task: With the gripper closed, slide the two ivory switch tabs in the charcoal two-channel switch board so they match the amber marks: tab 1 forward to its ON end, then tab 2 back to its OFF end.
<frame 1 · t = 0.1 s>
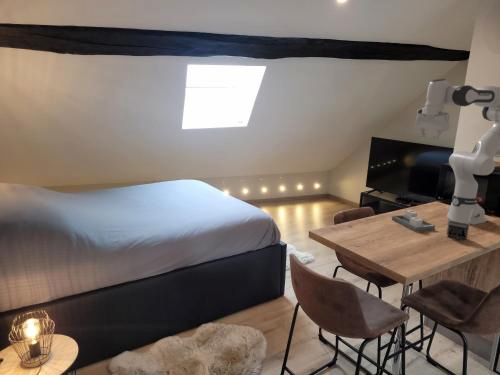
hand: (429, 138, 191), 48 cm above the table, fingers open, 8 cm apart
tab 2: (415, 222, 194), point 4 cm above the table, slide at 11.0 cm
electrical switch: (456, 238, 183), on the table
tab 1: (410, 215, 206), point 4 cm above the table, slide at 0.0 cm
switch board: (412, 224, 201), on the table
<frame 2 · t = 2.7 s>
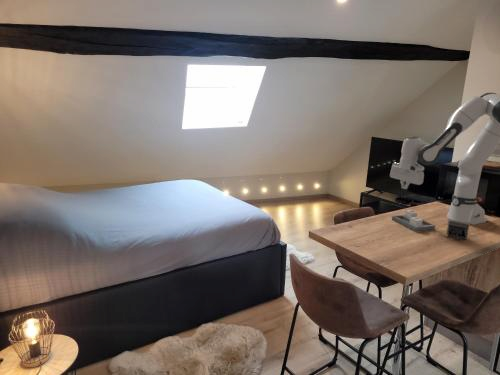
hand: (404, 188, 210), 17 cm above the table, fingers closed
nothing on the table moved.
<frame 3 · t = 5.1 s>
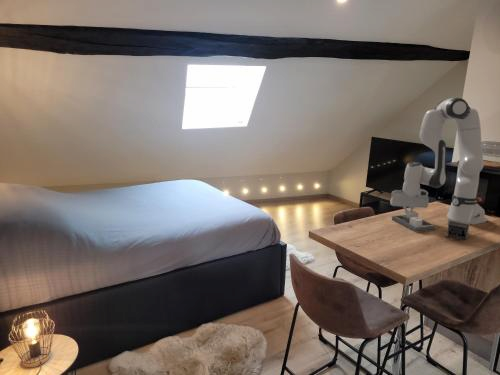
hand: (407, 213, 209), 3 cm above the table, fingers closed
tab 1: (412, 215, 205), point 4 cm above the table, slide at 1.1 cm, touching gripper
everything else where it was.
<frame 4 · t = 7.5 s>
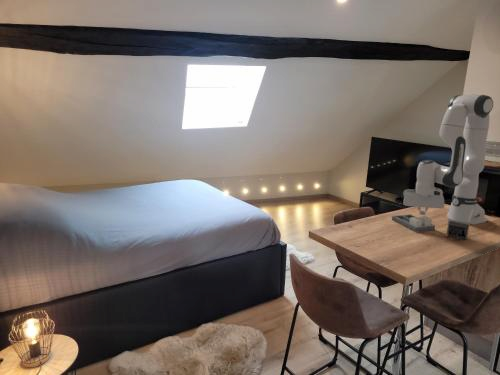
hand: (422, 214, 199), 6 cm above the table, fingers closed
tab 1: (425, 221, 196), point 4 cm above the table, slide at 11.1 cm
everything else where it was.
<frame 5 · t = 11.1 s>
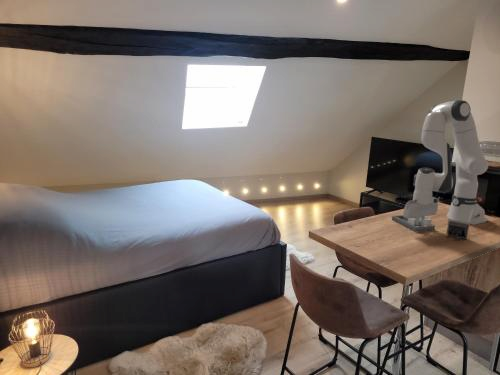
hand: (418, 224, 192), 3 cm above the table, fingers closed
tab 2: (413, 221, 195), point 4 cm above the table, slide at 9.4 cm, touching gripper
everything else where it was.
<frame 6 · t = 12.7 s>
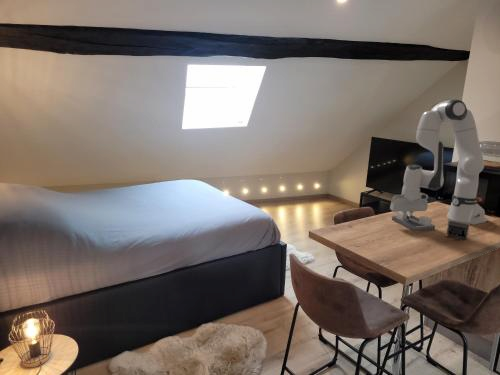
hand: (406, 218, 200), 3 cm above the table, fingers closed
tab 2: (402, 216, 204), point 4 cm above the table, slide at 0.5 cm, touching gripper
everything else where it was.
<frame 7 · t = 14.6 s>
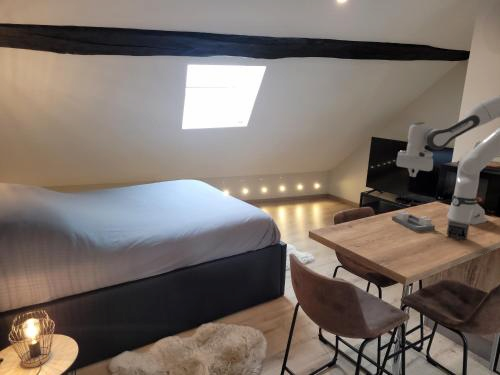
hand: (412, 176, 204), 25 cm above the table, fingers closed
tab 2: (402, 215, 204), point 4 cm above the table, slide at 0.4 cm
everything else where it was.
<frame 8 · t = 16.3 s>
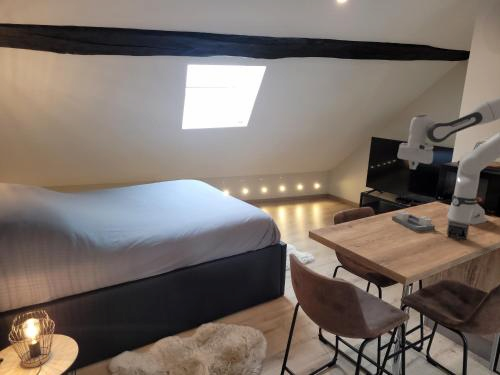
hand: (412, 168, 205), 29 cm above the table, fingers closed
nothing on the table moved.
at the end: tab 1 slide at 11.0 cm; tab 2 slide at 0.4 cm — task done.
